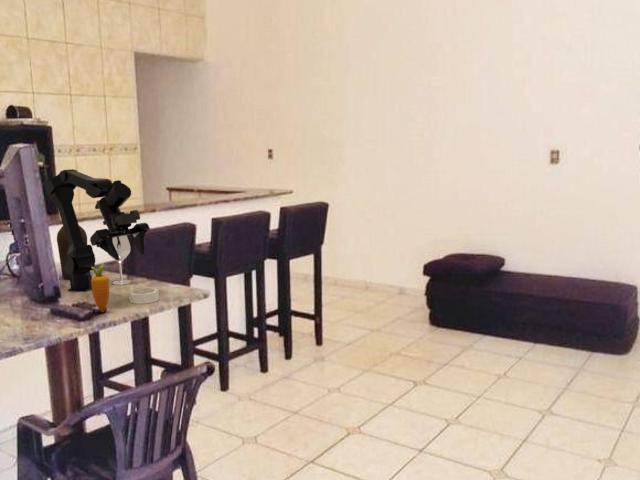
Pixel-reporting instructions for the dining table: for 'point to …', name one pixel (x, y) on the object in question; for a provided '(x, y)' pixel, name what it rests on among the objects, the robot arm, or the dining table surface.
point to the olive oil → (66, 248)
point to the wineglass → (121, 255)
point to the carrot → (100, 288)
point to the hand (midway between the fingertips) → (131, 257)
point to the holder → (144, 295)
